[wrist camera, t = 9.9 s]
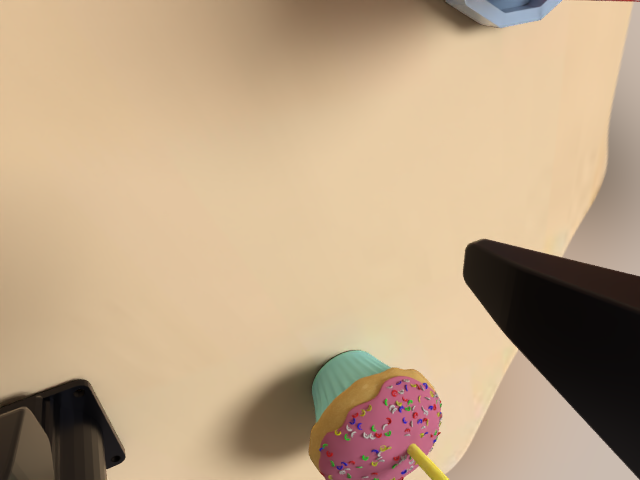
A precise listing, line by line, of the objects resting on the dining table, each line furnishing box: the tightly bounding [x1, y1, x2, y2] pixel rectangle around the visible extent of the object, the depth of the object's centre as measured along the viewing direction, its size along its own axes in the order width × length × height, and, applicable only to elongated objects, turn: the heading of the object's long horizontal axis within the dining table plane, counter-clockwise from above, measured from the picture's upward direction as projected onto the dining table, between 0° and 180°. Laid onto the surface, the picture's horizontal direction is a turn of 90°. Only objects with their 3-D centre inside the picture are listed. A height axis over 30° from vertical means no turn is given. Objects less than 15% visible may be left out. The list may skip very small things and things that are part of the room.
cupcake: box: [309, 350, 449, 480], centre depth 27 cm, size 9×8×12 cm
